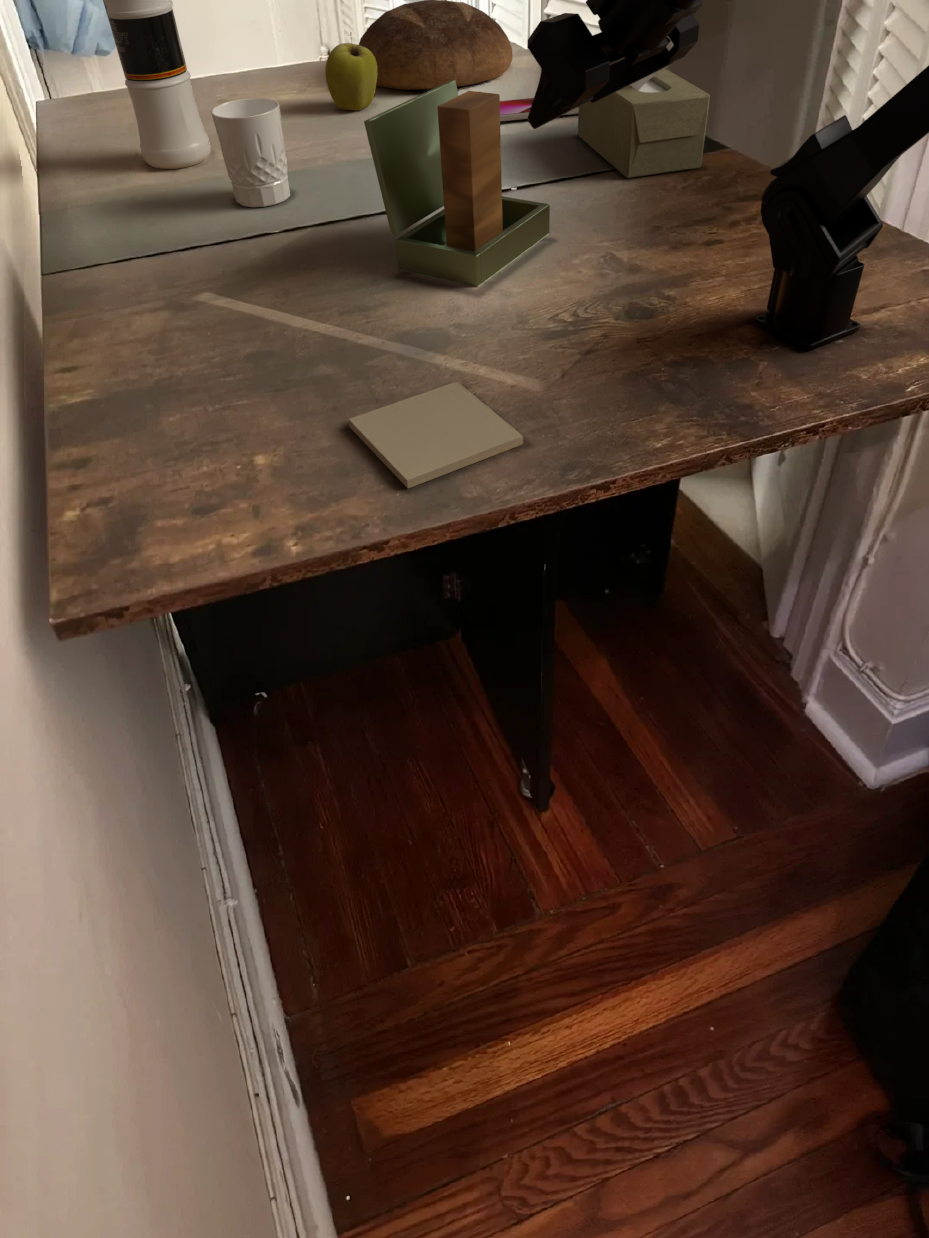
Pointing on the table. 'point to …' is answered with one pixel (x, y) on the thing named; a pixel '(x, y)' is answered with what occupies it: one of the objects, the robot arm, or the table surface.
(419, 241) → the green box
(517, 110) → the smartphone
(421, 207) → the flat green panel
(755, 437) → the table surface
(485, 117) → the wooden block
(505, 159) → the table surface
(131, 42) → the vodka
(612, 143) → the tissue box
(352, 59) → the apple
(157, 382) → the table surface
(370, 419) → the tile
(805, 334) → the robot arm
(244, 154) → the white cup
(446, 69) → the bread
